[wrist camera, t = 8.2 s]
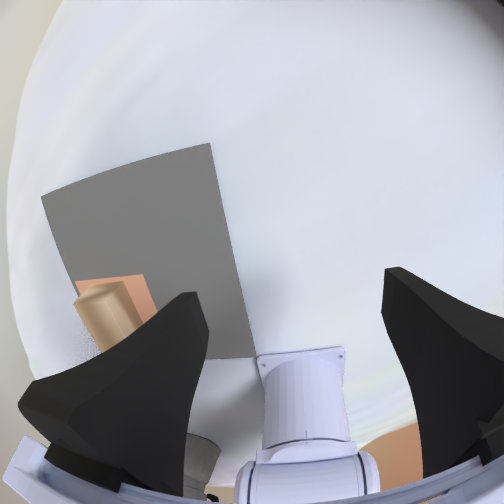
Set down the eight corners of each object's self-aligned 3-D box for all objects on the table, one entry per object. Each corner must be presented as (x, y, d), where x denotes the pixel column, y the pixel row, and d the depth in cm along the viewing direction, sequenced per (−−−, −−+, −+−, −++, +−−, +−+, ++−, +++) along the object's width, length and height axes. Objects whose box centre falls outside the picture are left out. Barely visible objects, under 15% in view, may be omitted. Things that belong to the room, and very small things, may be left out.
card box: (123, 280, 21) (106, 300, 19) (153, 343, 24) (143, 366, 22) (90, 285, 22) (72, 303, 19) (121, 343, 25) (109, 364, 22)
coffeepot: (141, 430, 35) (110, 522, 18) (174, 419, 31) (142, 534, 15) (213, 466, 39) (198, 548, 22) (252, 458, 36) (241, 554, 19)
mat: (256, 353, 24) (255, 357, 24) (112, 353, 26) (110, 356, 26) (209, 142, 17) (208, 143, 16) (43, 195, 19) (40, 196, 19)
